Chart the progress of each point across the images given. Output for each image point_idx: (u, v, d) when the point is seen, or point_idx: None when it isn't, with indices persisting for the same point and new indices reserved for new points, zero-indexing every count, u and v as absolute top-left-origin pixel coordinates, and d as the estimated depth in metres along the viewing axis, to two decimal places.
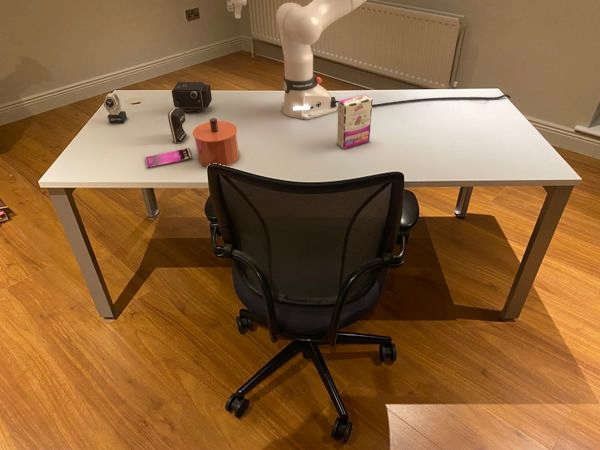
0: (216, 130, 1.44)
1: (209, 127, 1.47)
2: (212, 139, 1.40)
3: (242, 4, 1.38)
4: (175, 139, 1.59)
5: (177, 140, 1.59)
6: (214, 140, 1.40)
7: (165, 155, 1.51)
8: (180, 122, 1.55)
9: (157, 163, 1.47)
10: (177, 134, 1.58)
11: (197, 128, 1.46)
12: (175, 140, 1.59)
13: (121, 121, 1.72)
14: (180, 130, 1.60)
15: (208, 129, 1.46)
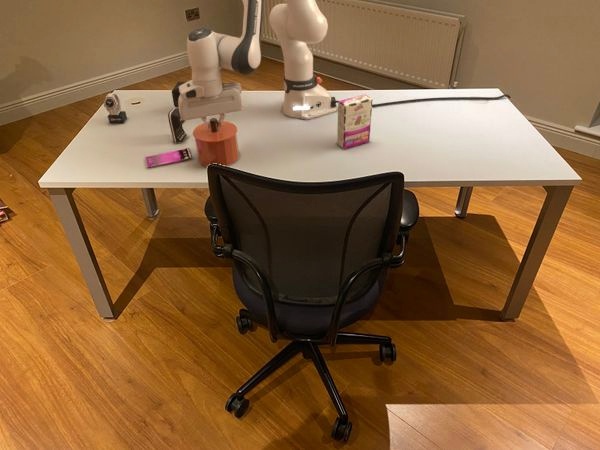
0: (216, 130, 1.44)
1: None
2: (212, 139, 1.40)
3: None
4: (175, 139, 1.59)
5: (177, 140, 1.59)
6: (214, 140, 1.40)
7: (165, 155, 1.51)
8: (180, 122, 1.55)
9: (157, 163, 1.47)
10: (177, 134, 1.58)
11: (197, 128, 1.46)
12: (175, 140, 1.59)
13: (121, 121, 1.72)
14: (180, 130, 1.60)
15: (208, 129, 1.46)
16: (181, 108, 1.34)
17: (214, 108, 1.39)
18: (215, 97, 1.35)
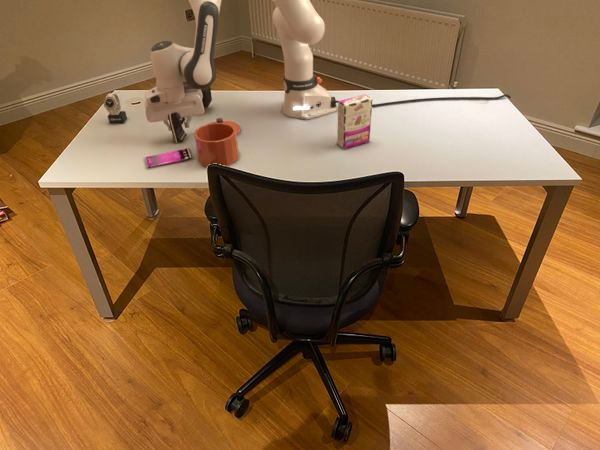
0: None
1: None
2: None
3: None
4: (176, 139, 1.58)
5: (178, 140, 1.59)
6: None
7: (165, 155, 1.51)
8: (180, 122, 1.55)
9: (157, 163, 1.47)
10: (178, 134, 1.58)
11: None
12: (176, 140, 1.59)
13: (121, 121, 1.72)
14: (180, 130, 1.60)
15: None
16: (147, 112, 1.49)
17: None
18: (178, 102, 1.50)
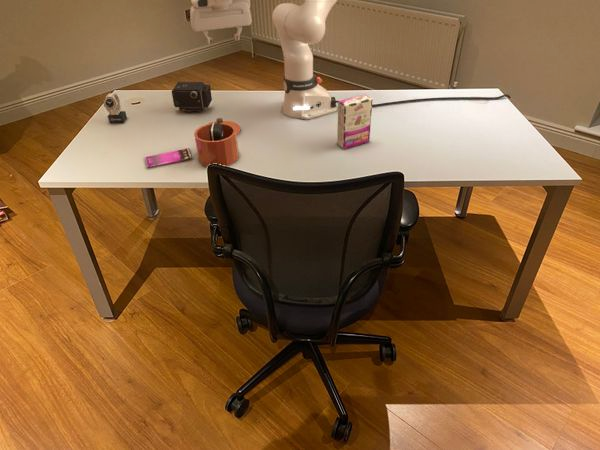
0: None
1: None
2: None
3: None
4: None
5: None
6: None
7: (165, 155, 1.51)
8: (222, 138, 1.44)
9: (157, 163, 1.47)
10: None
11: None
12: None
13: (121, 121, 1.72)
14: None
15: None
16: (193, 18, 1.41)
17: (224, 20, 1.45)
18: (225, 8, 1.42)
